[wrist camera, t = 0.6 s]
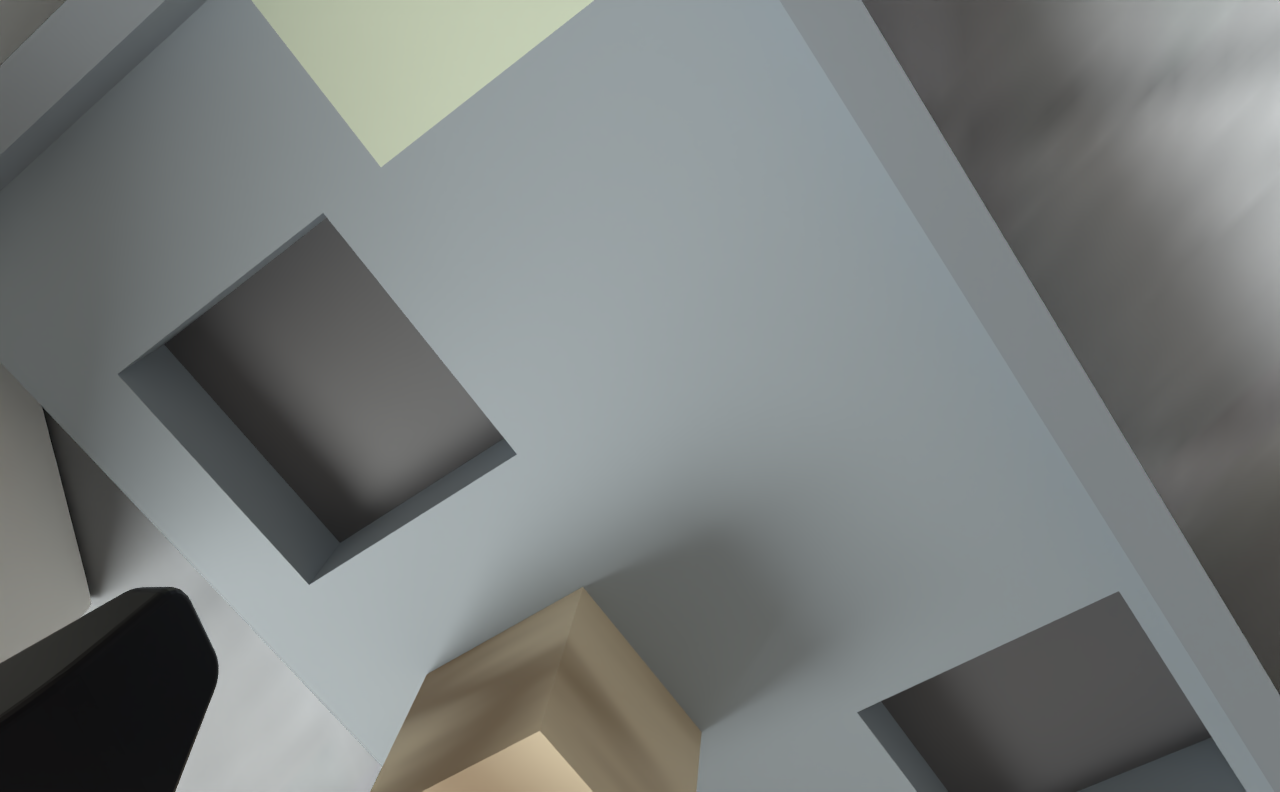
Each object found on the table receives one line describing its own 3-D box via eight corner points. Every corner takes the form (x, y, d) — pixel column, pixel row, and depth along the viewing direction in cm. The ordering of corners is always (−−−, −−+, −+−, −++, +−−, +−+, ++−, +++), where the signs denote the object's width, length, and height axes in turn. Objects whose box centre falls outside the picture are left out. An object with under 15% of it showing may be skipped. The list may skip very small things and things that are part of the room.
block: (545, 806, 25) (501, 977, 20) (426, 674, 23) (353, 826, 19) (701, 731, 23) (686, 899, 19) (582, 586, 22) (539, 730, 18)
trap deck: (659, 985, 29) (645, 1110, 26) (-52, 208, 22) (-188, 249, 19) (1294, 734, 24) (1376, 854, 21) (604, -406, 17) (566, -492, 14)
